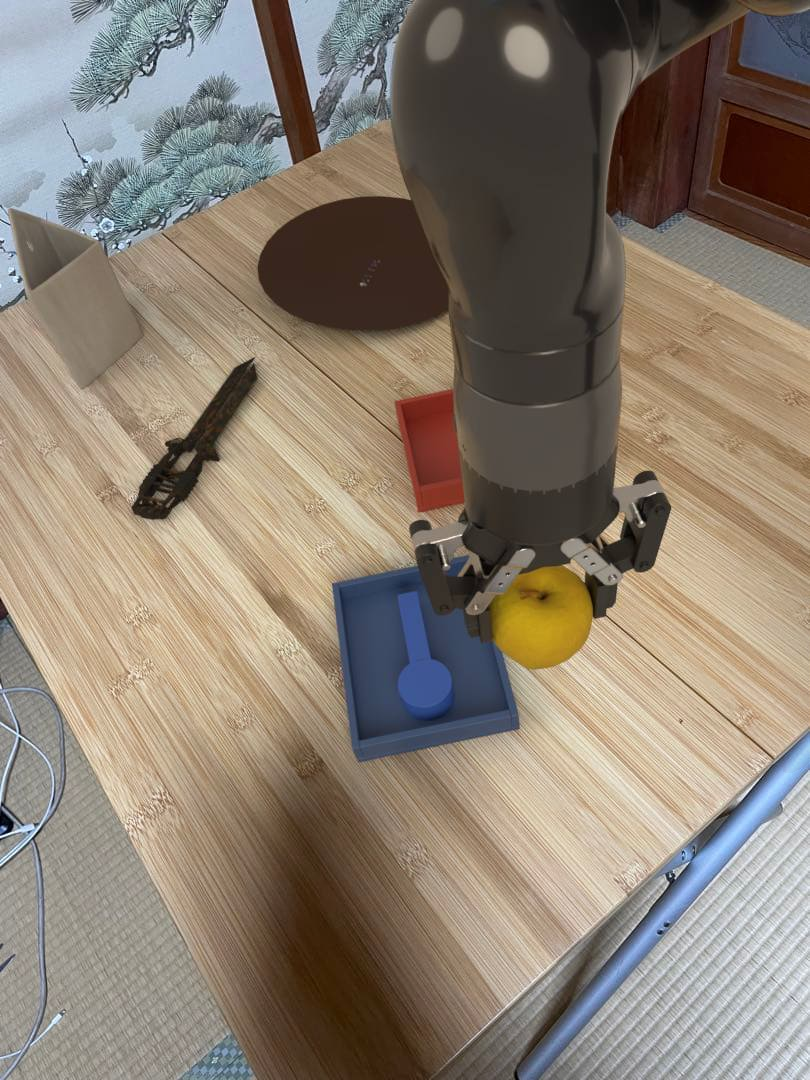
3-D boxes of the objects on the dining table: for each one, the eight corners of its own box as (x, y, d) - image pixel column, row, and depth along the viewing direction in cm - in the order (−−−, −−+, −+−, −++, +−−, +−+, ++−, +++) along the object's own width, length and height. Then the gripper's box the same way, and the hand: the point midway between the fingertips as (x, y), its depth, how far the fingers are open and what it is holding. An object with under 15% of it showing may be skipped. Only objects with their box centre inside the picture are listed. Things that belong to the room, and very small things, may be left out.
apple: (479, 679, 54) (470, 612, 48) (505, 600, 58) (500, 527, 51) (578, 703, 52) (582, 636, 46) (598, 619, 56) (605, 547, 49)
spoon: (386, 612, 74) (382, 597, 73) (434, 602, 74) (431, 587, 73) (406, 725, 67) (402, 712, 66) (459, 714, 67) (456, 700, 66)
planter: (143, 375, 102) (72, 231, 86) (79, 390, 101) (-3, 249, 86) (144, 298, 112) (81, 158, 97) (86, 311, 112) (13, 173, 97)
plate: (442, 354, 96) (439, 328, 93) (229, 332, 105) (220, 307, 102) (502, 219, 112) (501, 193, 109) (312, 209, 120) (307, 184, 117)
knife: (246, 359, 101) (243, 350, 100) (291, 369, 98) (288, 360, 97) (119, 510, 88) (114, 502, 87) (167, 526, 85) (163, 518, 84)
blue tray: (477, 570, 77) (475, 553, 75) (519, 729, 67) (518, 714, 65) (337, 599, 77) (331, 583, 75) (358, 762, 67) (352, 749, 65)
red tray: (535, 393, 90) (535, 371, 88) (569, 480, 82) (570, 459, 79) (398, 422, 90) (394, 400, 88) (418, 512, 82) (414, 491, 80)
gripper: (399, 518, 37) (438, 696, 50) (718, 448, 37) (674, 644, 50) (375, 406, 41) (416, 595, 54) (657, 344, 41) (631, 547, 54)
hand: (539, 618), depth 52 cm, fingers closed on apple, 6 cm apart
